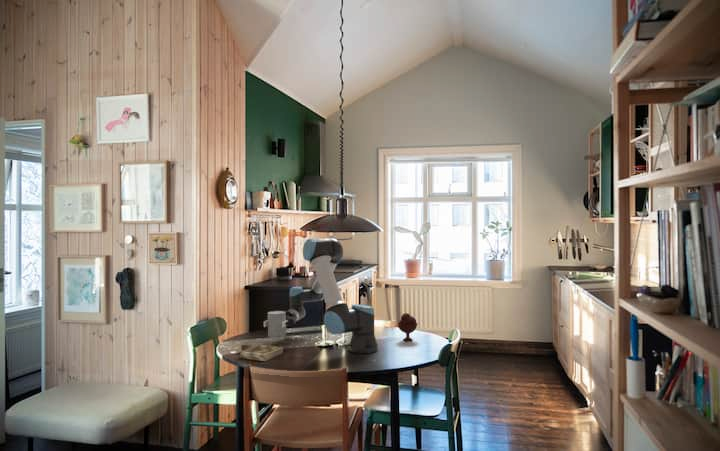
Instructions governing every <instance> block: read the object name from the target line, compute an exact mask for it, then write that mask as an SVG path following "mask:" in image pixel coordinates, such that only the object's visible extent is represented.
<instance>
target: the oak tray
mask: <svg viewBox="0 0 720 451" xmlns="http://www.w3.org/2000/svg"><path fill="white" fill-rule="evenodd" d="M239 353H240V359H245V358H246V360H253V361H261V362H267V361H269V360H271V359H273V358H276V357H278V356H280V355H282V354H284V347H283V346H274V345H265V344H264V345H263V344H257V345H254V346H251V348H249V349H246V350H244V351H241V350H240V352H239Z"/></svg>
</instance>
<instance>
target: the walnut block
mask: <svg viewBox="0 0 720 451" xmlns="http://www.w3.org/2000/svg"><path fill="white" fill-rule="evenodd" d="M240 347H241V350H240V352H241V351H244V350H246V349H249V348H251V347H252V343H251V342H250V343H249V342H248V343H246V342H244V343H242V344H241V346H240Z"/></svg>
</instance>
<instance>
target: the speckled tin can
mask: <svg viewBox="0 0 720 451" xmlns="http://www.w3.org/2000/svg"><path fill="white" fill-rule="evenodd" d="M285 313H286V310H274V311H273V310H272V311H268V312H267V319H268V326H267V336H268V338H283V337H286V336H287V326H285V327H283V328H282V322H284V321H286V314H285Z"/></svg>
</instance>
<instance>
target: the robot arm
mask: <svg viewBox="0 0 720 451" xmlns="http://www.w3.org/2000/svg"><path fill="white" fill-rule="evenodd" d="M343 255H344V248H343V245H342V243H341V242H340V241H339V240H338V239H336V238H334V237H321V238H315V237H313V238H308V239H306V240H305V242H304V244H303V247H302V256H303V259H304V260H305V261H307V262H309V263H310V266H311V267H314V269H315V273H316V277H315V279H314V282H313V284H312V285H311V288H308V289H307V288H306V289H303V287H302V286H293V287H292V286H291V287H290V288H289V309H288V310H285V312H286V313H285V314H286V321H284V322H282V328H283V327H285V326H286V327H287V326H291V325H292V326H294V325H295V324H296V323H297V322H298V321H300V320H301V319H303V318H304V317H305V316H306V310H305V307H304V303H311V302H319V301H323V300H324V302H325V304H326V308H325V313H324V315H323V324H324V327H325V329H326V331H327V332H328V333H330V334H331V335H342V334H347V333H351V338H350V342H349V345H348V350H349V352H351V353H354V354H372V353H375V352H377V351H378V350H379V344H378V342H377V338H376V336H375V309H374V308H373V306H371V305H365V304H352V305H351V308H349V306H348V303H347V302H344V300H343V297H342V294H341V291H340V289H339V285H338V283H337V280H336V276H335V274H334V273H335V272H334V271H335V269H336V268H337V265H338V264H340V262H341V261H342V259H343ZM266 327H268V318H265V319H264V321H263V328H266Z"/></svg>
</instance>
